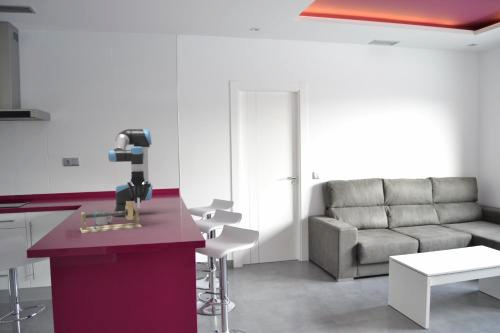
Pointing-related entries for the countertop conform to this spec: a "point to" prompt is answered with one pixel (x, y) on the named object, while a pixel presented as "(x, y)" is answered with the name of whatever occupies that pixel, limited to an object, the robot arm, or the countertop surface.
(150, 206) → the countertop surface
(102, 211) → the cup
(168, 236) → the countertop surface
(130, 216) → the collar
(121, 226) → the rail
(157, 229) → the countertop surface
